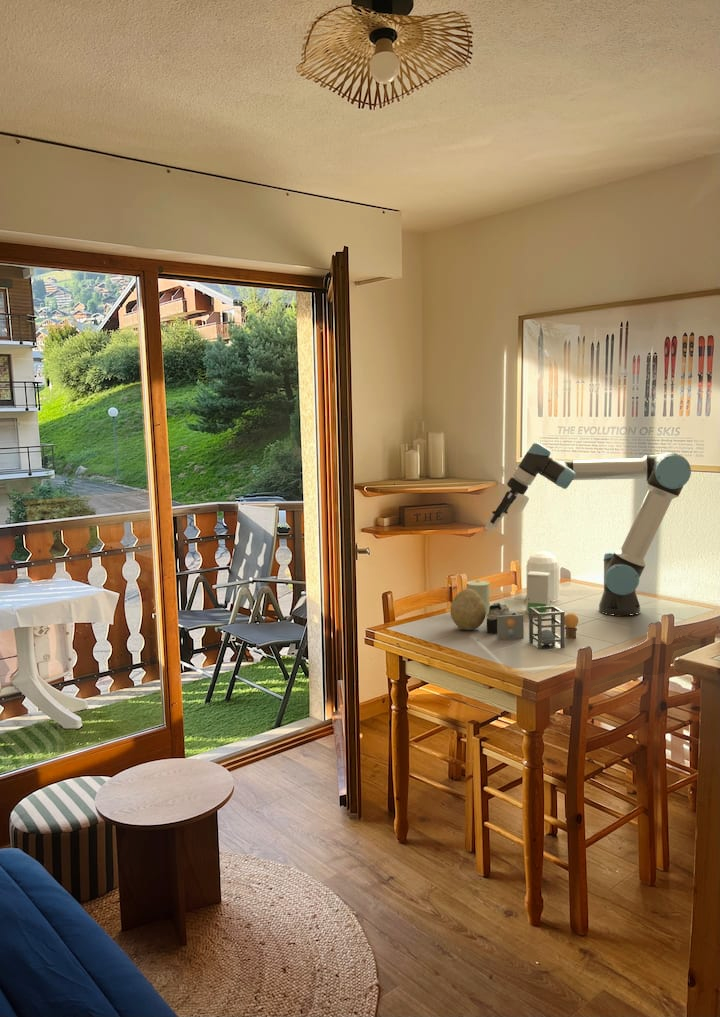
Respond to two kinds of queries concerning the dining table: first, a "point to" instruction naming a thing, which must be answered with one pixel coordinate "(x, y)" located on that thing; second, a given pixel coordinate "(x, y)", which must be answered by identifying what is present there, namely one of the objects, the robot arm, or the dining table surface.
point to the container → (546, 570)
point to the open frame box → (560, 624)
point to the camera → (492, 616)
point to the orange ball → (571, 620)
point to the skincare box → (538, 590)
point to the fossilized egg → (468, 609)
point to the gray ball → (547, 636)
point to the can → (481, 591)
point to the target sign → (510, 627)
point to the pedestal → (571, 632)
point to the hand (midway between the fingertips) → (490, 527)
